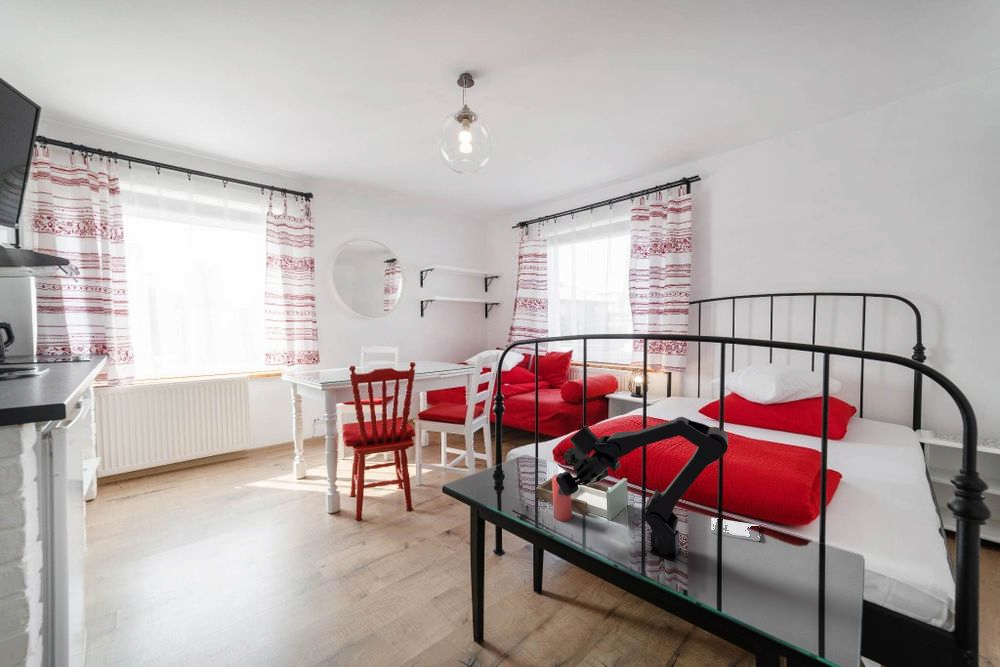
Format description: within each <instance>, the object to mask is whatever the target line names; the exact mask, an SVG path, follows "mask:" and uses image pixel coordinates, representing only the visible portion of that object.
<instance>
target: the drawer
mask: <svg viewBox="0 0 1000 667" xmlns="http://www.w3.org/2000/svg"><path fill="white" fill-rule="evenodd" d="M561 473H562V472H560V473H558V474H561ZM572 477H573V478H574V477H575V476H573V475H572ZM578 481H579V480H578ZM576 482H577V481H576ZM583 486H587V487H590V488H594V489H597V490H600V491H604V492H607V491H608V490H609V486H608V485H606V484H602V483H598V482H595V483H590V484H587V485H583ZM535 495H536V497H535V498H539V499H541V500H540V501H542V500H544V501H543V502H545V501H546V502H545V503H548V502H549V503H548V504H551V505H553V489H552V477H551V478H549V479H548V480H546V481H545V482H543V483H542V484H540V485H539V486H536V487H535ZM539 499H538V500H539ZM572 512H575V513H578V514H580V515H583V516H588V514H589V512H588V508H587V502H585V501H582V500H579V499H575V498H572Z"/></svg>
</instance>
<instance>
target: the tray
mask: <svg viewBox="0 0 1000 667" xmlns="http://www.w3.org/2000/svg"><path fill="white" fill-rule="evenodd" d="M571 497H572V498H575V499H579V500H582V501H585V502H587V508H588V513H591V514H594V515H597V516H601V517H603V518H605V519H607V520H609V521H612V520H613V519H615V517H616V516H617V515H618V514H620V512H622V511H623V510H624V509H625V508H626V507H627V506H628V504H629V501H628V500H629V496H628V478H625V477H623V478H622V479H620V480H619V481H618V482H617V483H616V484H614V485H613V486H612V487H610V488H608V491H607V492H604V491H600V490H597V489H594V488H590V487H587V486H583V485H580V486H579V485H578V491H577V492H575V493H574V494H572V495H571Z"/></svg>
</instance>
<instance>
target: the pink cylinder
mask: <svg viewBox="0 0 1000 667" xmlns="http://www.w3.org/2000/svg"><path fill="white" fill-rule="evenodd" d="M558 475H559V473H556V474H554V475H552V476H551V478H552V489H553V504H552V506H553V507H552V508H553V518H554V519H555V520H556V519H557V520H556V521H559V522H568V521H571V520H572V519H573V511H572V497H571V495H570V496H568V497H567V496H565V495H559V493H558V490H559V488H560V486H559V484H558V483H557V481H556V477H557V476H558Z"/></svg>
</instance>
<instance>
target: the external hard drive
mask: <svg viewBox="0 0 1000 667" xmlns="http://www.w3.org/2000/svg"><path fill="white" fill-rule="evenodd" d="M717 519H718V518H716V517H711V524H710V525H711V526H710V529H711V530H714V529H715V525H716V522H717ZM722 519H723V518H722ZM713 524H714V527H713ZM725 525H728V526H727V530H729V531H726V533H727V532H729V533H730V534H732V535H736V536H746V537H749V536H750V534H749V531H748V530H747V528H748V527H749V528H750V527H751V526H759V527H760V525H759V524H755V523H747V522H742V521H741V522H740V521H735V520H729V519H723V528H725ZM713 528H714V529H713ZM711 530H710V531H711ZM745 530H746V531H745ZM723 532H725V530H723ZM758 537H759V536H758ZM759 538H760V537H759Z"/></svg>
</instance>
